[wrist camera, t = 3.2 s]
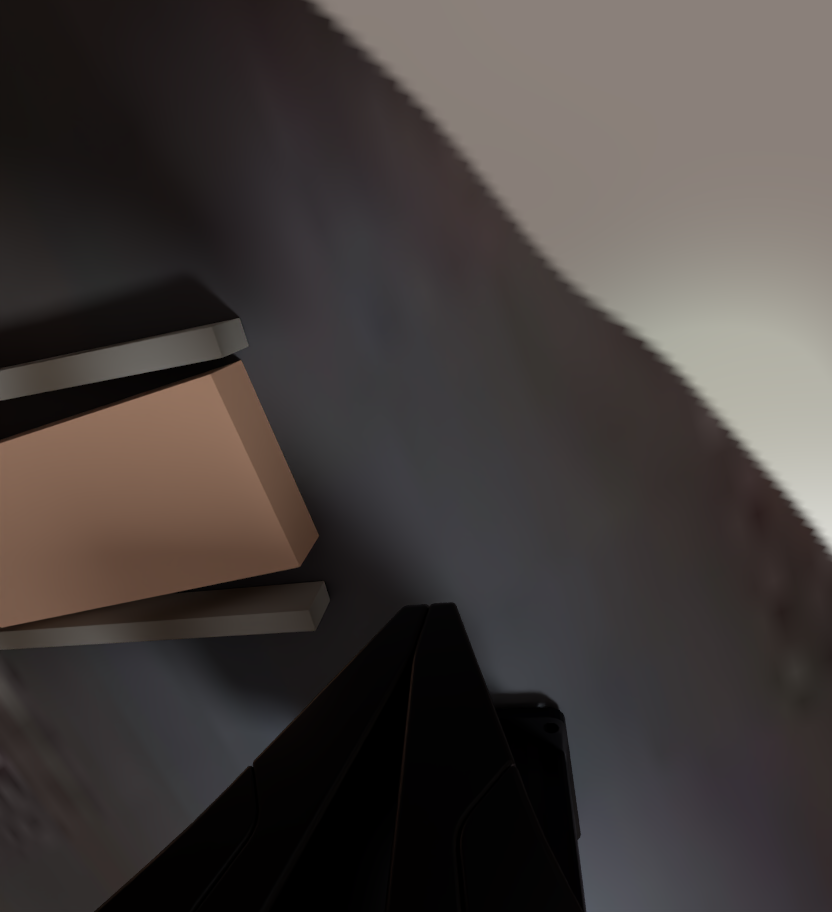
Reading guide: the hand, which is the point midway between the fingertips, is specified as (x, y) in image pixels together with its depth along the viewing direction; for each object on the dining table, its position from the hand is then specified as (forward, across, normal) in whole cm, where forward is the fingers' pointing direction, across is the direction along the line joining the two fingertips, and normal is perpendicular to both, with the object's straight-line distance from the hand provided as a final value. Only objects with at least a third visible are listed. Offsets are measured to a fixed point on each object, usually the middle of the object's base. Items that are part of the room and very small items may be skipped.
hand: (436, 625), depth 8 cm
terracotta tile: (+8, +12, 0) cm, 14 cm away
